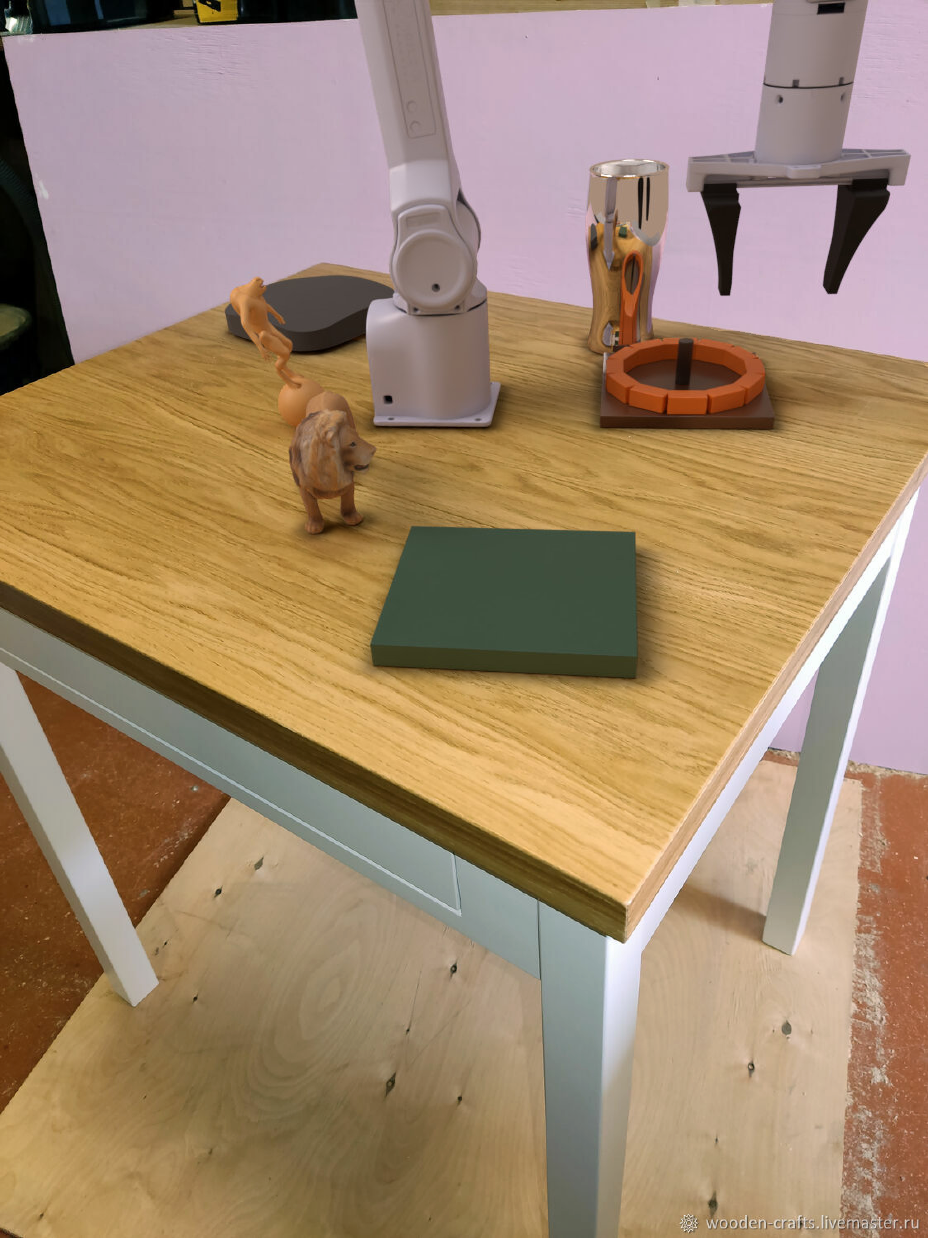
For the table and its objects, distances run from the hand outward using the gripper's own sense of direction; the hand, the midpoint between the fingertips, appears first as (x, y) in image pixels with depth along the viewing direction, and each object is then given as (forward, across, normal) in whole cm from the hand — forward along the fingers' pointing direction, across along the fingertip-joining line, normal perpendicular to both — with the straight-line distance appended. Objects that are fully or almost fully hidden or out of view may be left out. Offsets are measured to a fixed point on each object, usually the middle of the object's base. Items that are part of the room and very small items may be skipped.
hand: (776, 290), depth 68 cm
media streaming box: (+9, -42, +18) cm, 47 cm away
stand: (+8, -18, -29) cm, 35 cm away
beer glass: (+9, -11, +12) cm, 18 cm away
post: (+8, -6, +1) cm, 11 cm away
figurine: (+9, -37, -6) cm, 39 cm away
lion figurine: (+9, -30, -18) cm, 36 cm away
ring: (+8, -6, +1) cm, 10 cm away
